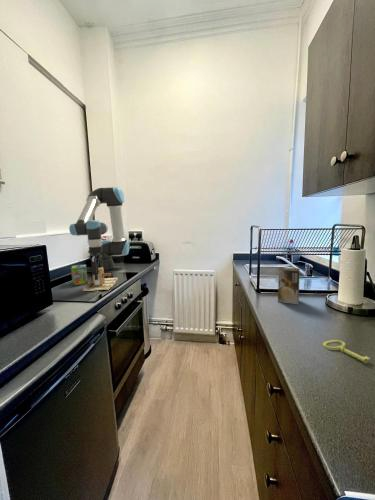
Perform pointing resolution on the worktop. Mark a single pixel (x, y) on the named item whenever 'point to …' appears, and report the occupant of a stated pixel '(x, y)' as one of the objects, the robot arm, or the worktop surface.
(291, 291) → the coffee box
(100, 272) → the marking gauge
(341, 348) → the key
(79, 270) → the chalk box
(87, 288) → the guide board
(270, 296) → the worktop surface
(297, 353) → the worktop surface
